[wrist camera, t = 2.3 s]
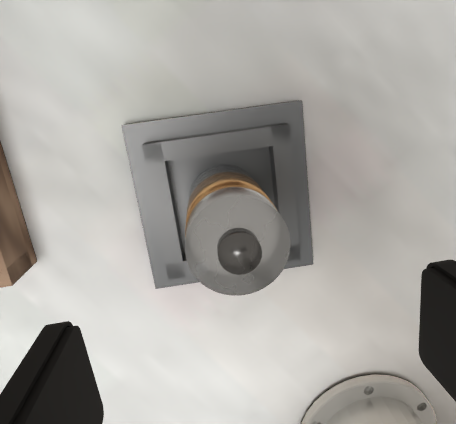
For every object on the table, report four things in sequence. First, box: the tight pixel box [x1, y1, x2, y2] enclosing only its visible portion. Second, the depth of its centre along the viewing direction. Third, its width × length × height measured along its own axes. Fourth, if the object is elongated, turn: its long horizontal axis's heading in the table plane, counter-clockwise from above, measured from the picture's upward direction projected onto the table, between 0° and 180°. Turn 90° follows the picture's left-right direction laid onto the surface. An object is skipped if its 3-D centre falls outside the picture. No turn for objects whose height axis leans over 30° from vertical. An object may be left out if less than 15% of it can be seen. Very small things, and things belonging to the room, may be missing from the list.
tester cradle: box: [122, 100, 313, 289], centre depth 26 cm, size 12×12×2 cm
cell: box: [185, 165, 290, 295], centre depth 21 cm, size 5×5×10 cm
